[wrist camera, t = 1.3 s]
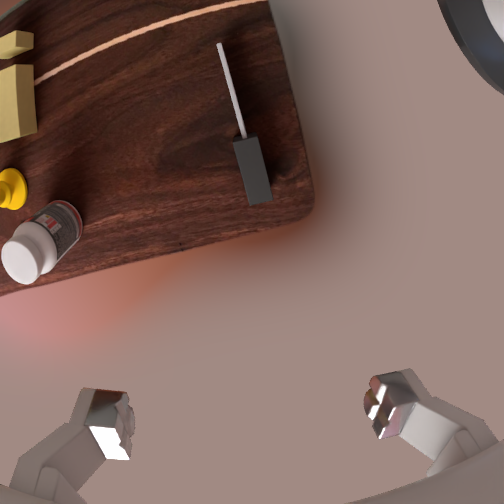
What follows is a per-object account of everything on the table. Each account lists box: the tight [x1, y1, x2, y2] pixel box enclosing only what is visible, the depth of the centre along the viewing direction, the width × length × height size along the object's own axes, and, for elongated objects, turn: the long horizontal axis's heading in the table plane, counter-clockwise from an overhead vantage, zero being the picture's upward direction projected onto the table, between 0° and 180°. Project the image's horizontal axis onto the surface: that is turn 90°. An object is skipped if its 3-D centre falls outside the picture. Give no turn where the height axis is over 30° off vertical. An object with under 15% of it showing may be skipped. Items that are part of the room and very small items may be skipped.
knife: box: [217, 43, 273, 205], centre depth 28 cm, size 2×15×4 cm, turn 14°
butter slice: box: [0, 30, 34, 59], centre depth 21 cm, size 4×2×4 cm, turn 91°
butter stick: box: [0, 64, 37, 143], centre depth 25 cm, size 4×8×4 cm, turn 1°
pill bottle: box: [1, 200, 82, 284], centre depth 29 cm, size 6×6×10 cm
